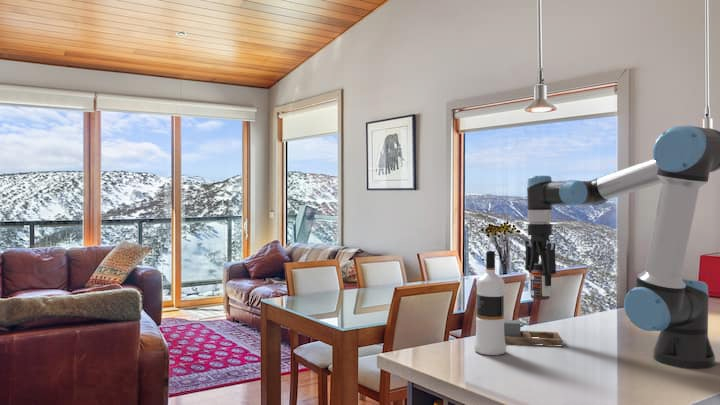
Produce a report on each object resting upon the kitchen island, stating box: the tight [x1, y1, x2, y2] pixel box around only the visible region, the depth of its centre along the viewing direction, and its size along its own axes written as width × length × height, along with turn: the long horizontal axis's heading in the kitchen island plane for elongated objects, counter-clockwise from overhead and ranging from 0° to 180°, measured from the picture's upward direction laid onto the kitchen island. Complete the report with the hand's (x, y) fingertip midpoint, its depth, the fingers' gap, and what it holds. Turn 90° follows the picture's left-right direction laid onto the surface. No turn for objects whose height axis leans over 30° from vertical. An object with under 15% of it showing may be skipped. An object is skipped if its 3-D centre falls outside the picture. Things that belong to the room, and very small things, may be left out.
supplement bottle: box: [530, 262, 551, 301], centre depth 188 cm, size 6×6×11 cm
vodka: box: [473, 250, 507, 357], centre depth 171 cm, size 9×9×30 cm
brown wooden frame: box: [505, 330, 563, 346], centre depth 184 cm, size 20×10×2 cm, turn 79°
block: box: [504, 319, 521, 337], centre depth 185 cm, size 5×5×6 cm
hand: (540, 294), depth 188 cm, fingers closed on supplement bottle, 6 cm apart
